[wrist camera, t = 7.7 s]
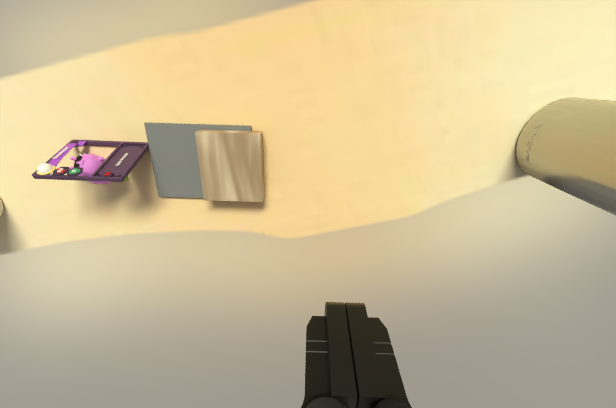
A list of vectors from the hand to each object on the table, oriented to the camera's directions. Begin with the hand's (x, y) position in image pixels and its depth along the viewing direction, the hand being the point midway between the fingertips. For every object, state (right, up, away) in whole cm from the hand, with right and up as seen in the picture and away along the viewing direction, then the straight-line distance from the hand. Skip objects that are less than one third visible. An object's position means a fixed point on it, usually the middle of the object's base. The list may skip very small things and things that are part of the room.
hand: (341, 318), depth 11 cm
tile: (-7, +9, +22) cm, 24 cm away
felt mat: (-14, +9, +23) cm, 28 cm away
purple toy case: (-24, +10, +23) cm, 35 cm away
